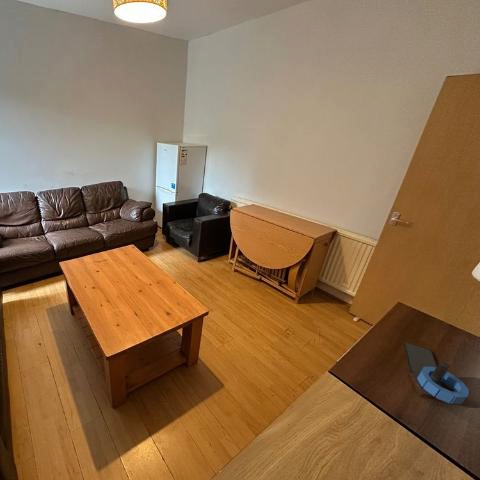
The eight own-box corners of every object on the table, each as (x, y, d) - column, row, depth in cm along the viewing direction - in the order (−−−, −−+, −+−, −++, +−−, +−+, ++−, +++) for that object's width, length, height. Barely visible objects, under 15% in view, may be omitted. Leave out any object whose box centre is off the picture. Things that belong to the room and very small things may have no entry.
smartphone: (432, 350, 86) (444, 384, 75) (431, 352, 86) (442, 386, 75) (403, 340, 90) (410, 372, 78) (402, 342, 90) (409, 374, 79)
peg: (436, 382, 76) (453, 357, 72) (451, 404, 70) (471, 379, 66) (407, 375, 78) (422, 351, 74) (419, 396, 72) (436, 371, 68)
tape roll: (449, 378, 76) (454, 371, 74) (472, 409, 67) (478, 402, 66) (411, 369, 78) (415, 362, 77) (428, 398, 70) (433, 391, 69)
